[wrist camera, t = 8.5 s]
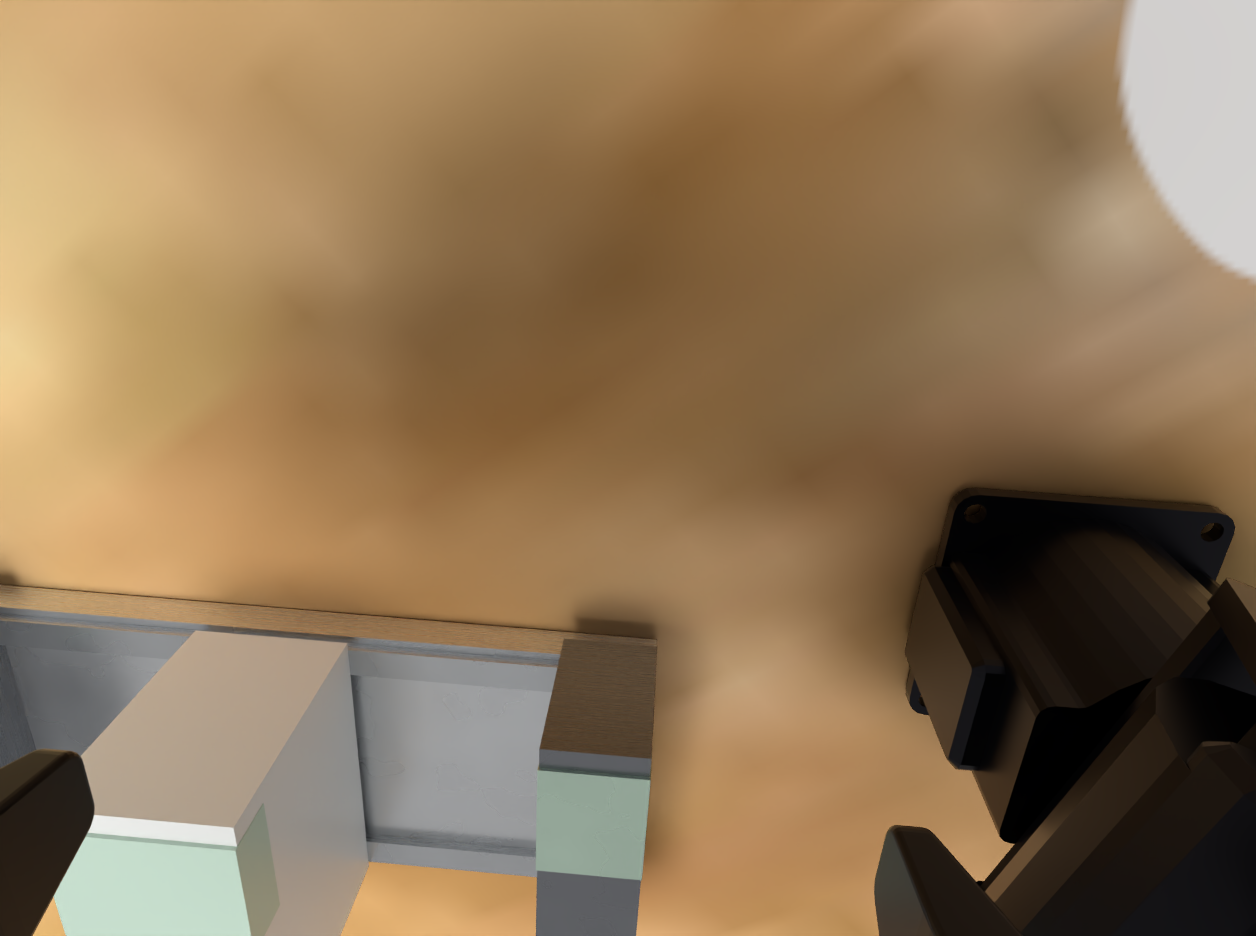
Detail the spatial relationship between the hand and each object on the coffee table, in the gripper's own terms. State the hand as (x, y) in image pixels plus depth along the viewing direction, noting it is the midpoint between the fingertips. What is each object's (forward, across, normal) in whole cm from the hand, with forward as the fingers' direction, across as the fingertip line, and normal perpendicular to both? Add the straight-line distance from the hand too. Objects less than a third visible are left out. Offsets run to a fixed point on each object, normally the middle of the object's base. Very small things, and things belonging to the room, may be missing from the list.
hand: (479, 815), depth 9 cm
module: (+11, +8, +10) cm, 17 cm away
